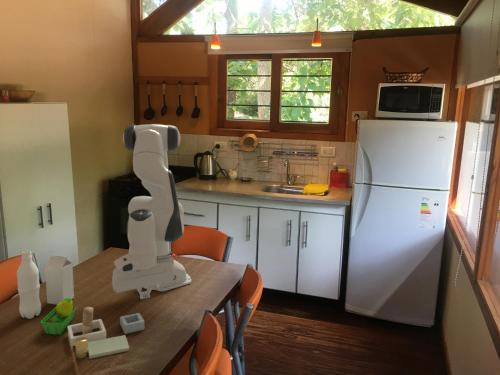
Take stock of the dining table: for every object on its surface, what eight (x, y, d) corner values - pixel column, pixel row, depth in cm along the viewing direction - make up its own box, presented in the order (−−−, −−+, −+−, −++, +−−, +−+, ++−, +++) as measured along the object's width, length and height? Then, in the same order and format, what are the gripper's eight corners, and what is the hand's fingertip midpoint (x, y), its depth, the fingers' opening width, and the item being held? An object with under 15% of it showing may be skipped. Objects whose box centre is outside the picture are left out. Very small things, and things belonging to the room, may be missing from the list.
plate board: (125, 341, 142) (125, 334, 142) (129, 354, 135) (129, 347, 135) (87, 349, 137) (87, 342, 137) (89, 362, 130) (89, 355, 130)
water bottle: (25, 310, 159) (20, 248, 154) (44, 310, 160) (40, 248, 155) (16, 320, 152) (11, 254, 147) (37, 320, 153) (32, 254, 148)
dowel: (90, 332, 145) (91, 305, 143) (93, 337, 142) (94, 310, 140) (80, 335, 142) (81, 308, 140) (84, 339, 140) (85, 312, 138)
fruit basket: (56, 319, 154) (54, 290, 152) (80, 320, 154) (79, 291, 152) (40, 335, 143) (38, 305, 141) (66, 337, 143) (64, 306, 141)
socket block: (139, 322, 153) (139, 312, 153) (144, 331, 148) (144, 321, 147) (120, 327, 150) (120, 316, 149) (124, 336, 144) (124, 325, 144)
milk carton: (63, 305, 164) (60, 259, 160) (47, 303, 166) (44, 257, 162) (74, 297, 171) (72, 253, 167) (58, 295, 172) (56, 251, 169)
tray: (101, 328, 149) (101, 318, 148) (106, 340, 141) (106, 331, 141) (68, 335, 144) (67, 325, 143) (71, 349, 136) (70, 339, 135)
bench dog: (87, 353, 134) (86, 336, 133) (89, 359, 131) (88, 341, 130) (75, 356, 132) (74, 338, 131) (77, 362, 129) (76, 344, 128)
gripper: (170, 250, 146) (171, 286, 149) (109, 261, 136) (112, 300, 139) (176, 256, 140) (177, 294, 144) (113, 268, 130) (116, 309, 134)
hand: (144, 297), depth 141 cm, fingers closed
